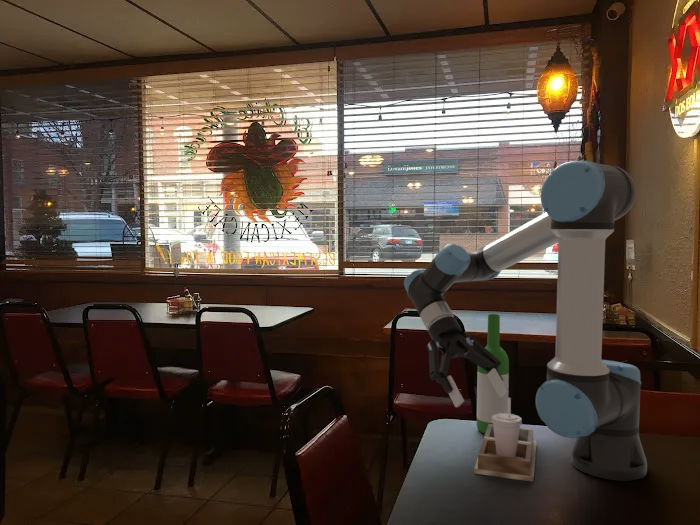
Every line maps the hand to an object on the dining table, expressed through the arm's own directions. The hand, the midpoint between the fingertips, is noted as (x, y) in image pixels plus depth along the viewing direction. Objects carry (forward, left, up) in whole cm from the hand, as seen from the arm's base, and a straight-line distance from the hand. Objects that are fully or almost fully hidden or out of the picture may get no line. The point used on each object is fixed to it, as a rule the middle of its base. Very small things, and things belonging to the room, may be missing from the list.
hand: (483, 399), depth 129 cm
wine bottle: (0, -18, -13) cm, 22 cm away
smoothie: (-6, +4, -12) cm, 14 cm away
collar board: (-5, -1, -13) cm, 14 cm away
